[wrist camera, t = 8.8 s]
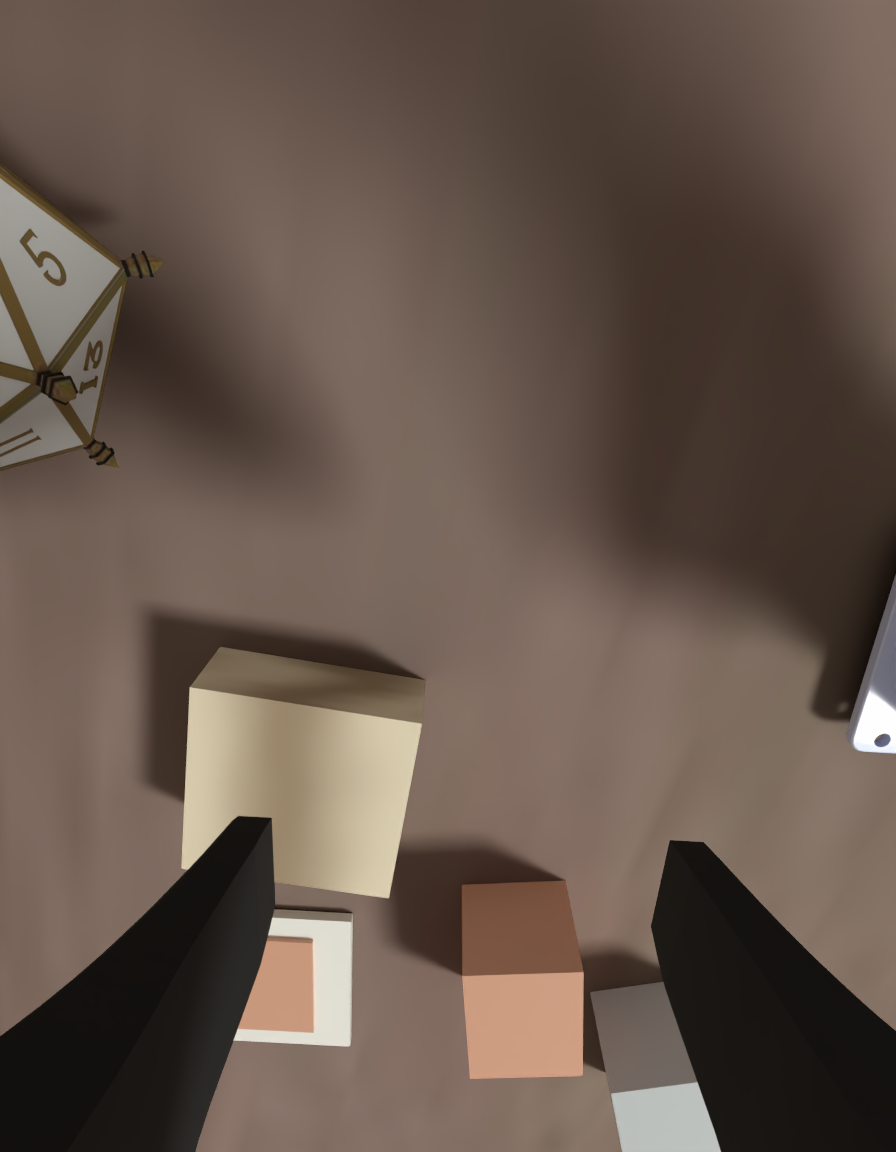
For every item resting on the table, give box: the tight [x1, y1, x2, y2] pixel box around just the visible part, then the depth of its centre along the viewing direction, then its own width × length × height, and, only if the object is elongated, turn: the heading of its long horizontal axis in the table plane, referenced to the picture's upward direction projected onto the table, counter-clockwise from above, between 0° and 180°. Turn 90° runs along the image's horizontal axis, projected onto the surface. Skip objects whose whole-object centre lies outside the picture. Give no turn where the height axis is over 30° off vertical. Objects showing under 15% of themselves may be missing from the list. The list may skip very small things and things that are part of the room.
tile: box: [234, 909, 353, 1046], centre depth 27 cm, size 7×7×1 cm
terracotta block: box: [462, 881, 584, 1079], centre depth 24 cm, size 4×5×4 cm
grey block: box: [590, 982, 721, 1152], centre depth 26 cm, size 4×5×4 cm
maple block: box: [182, 647, 426, 898], centre depth 22 cm, size 7×7×3 cm
